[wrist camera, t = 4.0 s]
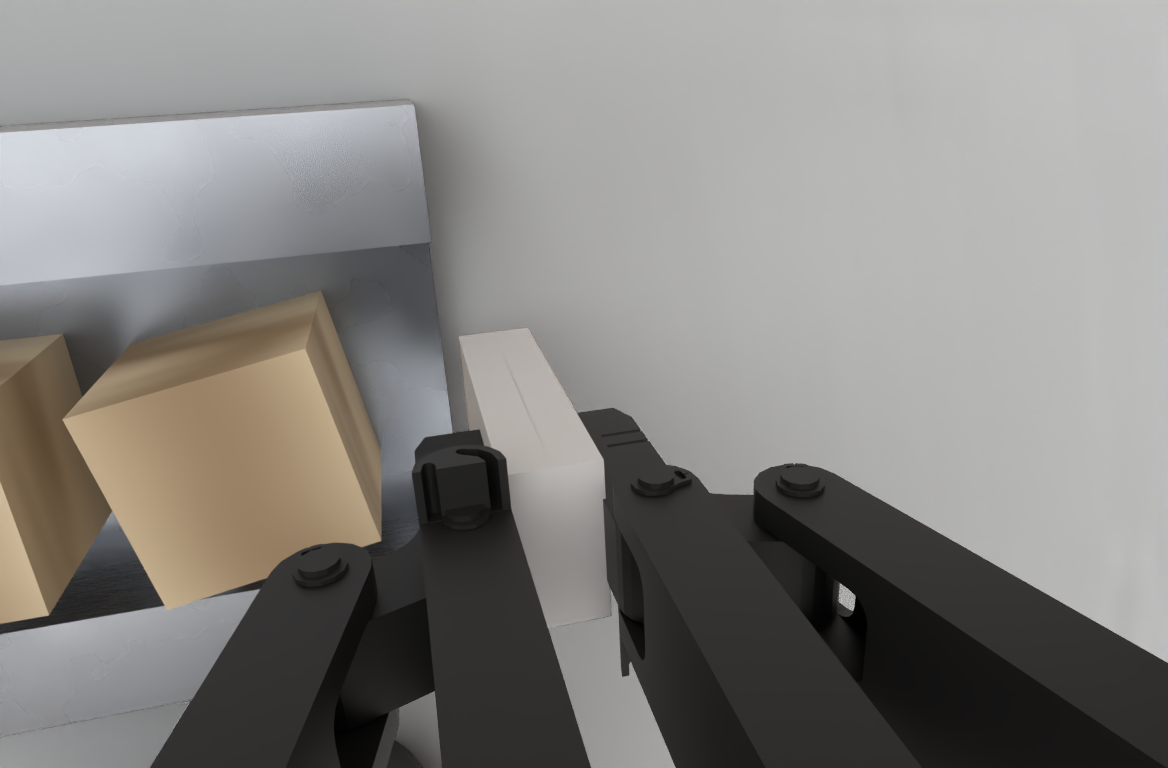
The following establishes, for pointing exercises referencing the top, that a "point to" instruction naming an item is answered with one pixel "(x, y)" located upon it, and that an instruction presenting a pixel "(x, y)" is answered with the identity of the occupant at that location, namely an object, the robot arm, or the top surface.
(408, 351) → the slot rail
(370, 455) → the chip
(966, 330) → the top surface
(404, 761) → the mug
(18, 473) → the chip
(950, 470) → the top surface
